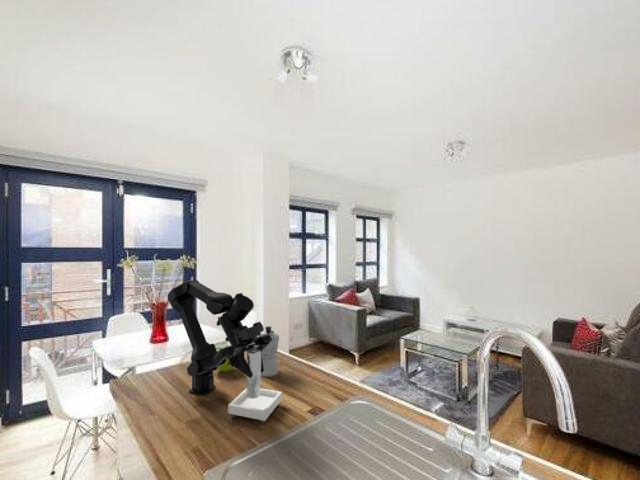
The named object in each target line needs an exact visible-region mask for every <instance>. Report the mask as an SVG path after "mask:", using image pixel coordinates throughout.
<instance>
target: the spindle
mask: <svg viewBox="0 0 640 480" xmlns="http://www.w3.org/2000/svg"><path fill="white" fill-rule="evenodd" d="M246 357H247V359H246V362H247V364H248V366H249V368H250V370H251V373H252V377H251V378H249V377H248V376H246V388H247V397H248V398H251V399H254V398H258V397H259V396H260V395H261V386H262V385H261V384H262V383H261V379H262V377H261V350H258V349H252V350H249V351H248V352H247V351H246Z"/></svg>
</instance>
